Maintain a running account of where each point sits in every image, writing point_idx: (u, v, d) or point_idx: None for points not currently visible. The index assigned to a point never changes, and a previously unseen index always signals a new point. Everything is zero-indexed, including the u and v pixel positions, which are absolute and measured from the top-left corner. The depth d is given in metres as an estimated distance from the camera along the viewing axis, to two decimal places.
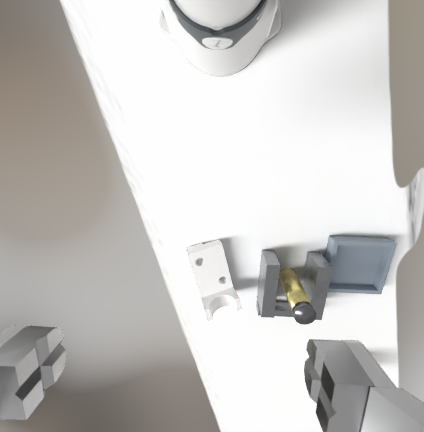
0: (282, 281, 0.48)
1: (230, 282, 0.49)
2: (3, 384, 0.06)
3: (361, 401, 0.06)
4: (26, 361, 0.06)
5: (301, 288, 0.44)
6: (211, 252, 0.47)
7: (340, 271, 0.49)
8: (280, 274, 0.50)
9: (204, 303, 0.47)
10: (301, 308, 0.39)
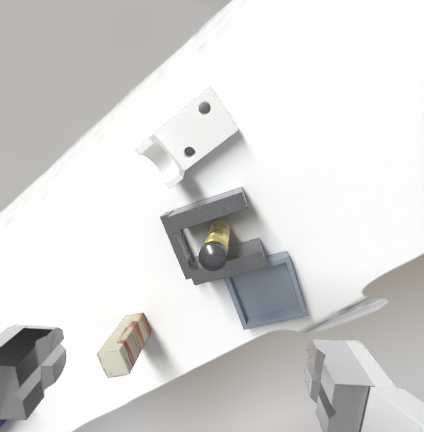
0: (217, 224, 0.38)
1: (189, 164, 0.37)
2: (3, 384, 0.06)
3: (361, 400, 0.06)
4: (27, 360, 0.06)
5: (228, 244, 0.35)
6: (223, 119, 0.34)
7: (250, 280, 0.42)
8: (220, 220, 0.40)
9: (153, 137, 0.33)
10: (220, 248, 0.29)
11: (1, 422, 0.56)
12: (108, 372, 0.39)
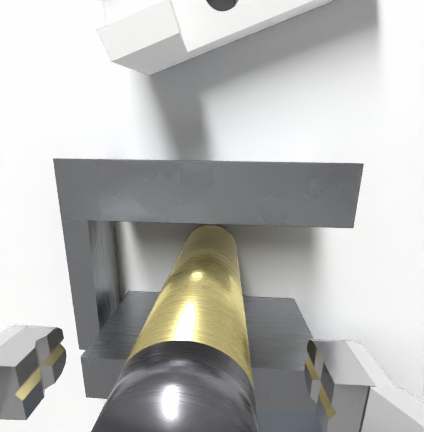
0: (215, 239, 0.13)
1: (210, 33, 0.11)
2: (3, 384, 0.06)
3: (361, 401, 0.06)
4: (26, 361, 0.06)
5: None
6: None
7: None
8: (220, 228, 0.15)
9: None
10: None
11: None
12: None
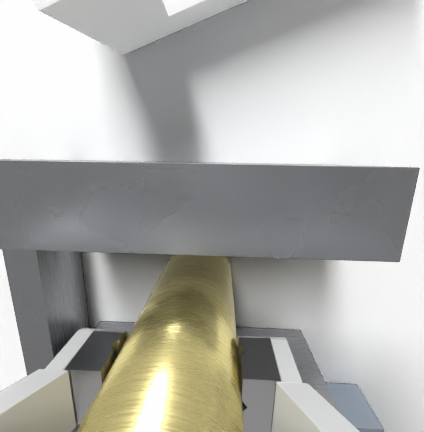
0: (202, 264, 0.10)
1: None
2: (87, 389, 0.06)
3: (269, 395, 0.06)
4: (107, 365, 0.06)
5: None
6: None
7: None
8: None
9: None
10: None
11: None
12: None
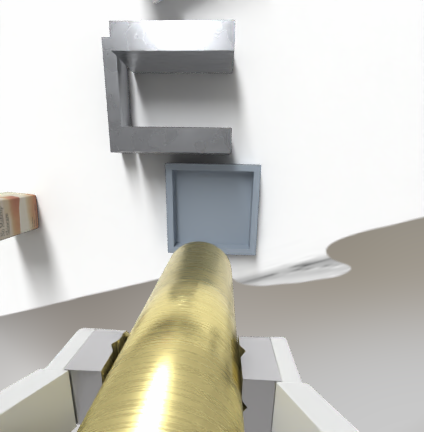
0: (202, 264, 0.10)
1: None
2: (87, 389, 0.06)
3: (269, 395, 0.06)
4: (107, 365, 0.06)
5: None
6: None
7: (198, 189, 0.31)
8: (210, 247, 0.12)
9: None
10: None
11: None
12: None
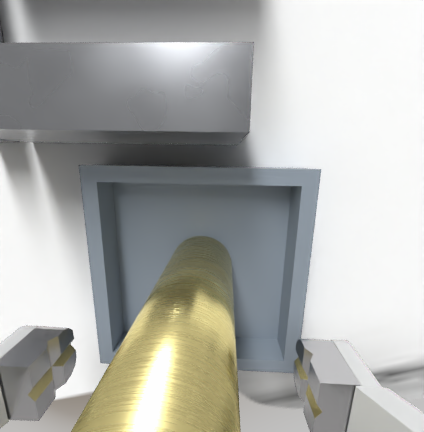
0: (204, 256, 0.11)
1: None
2: (16, 385, 0.06)
3: (346, 400, 0.06)
4: (39, 361, 0.06)
5: None
6: None
7: (168, 225, 0.14)
8: (212, 241, 0.13)
9: None
10: None
11: None
12: None
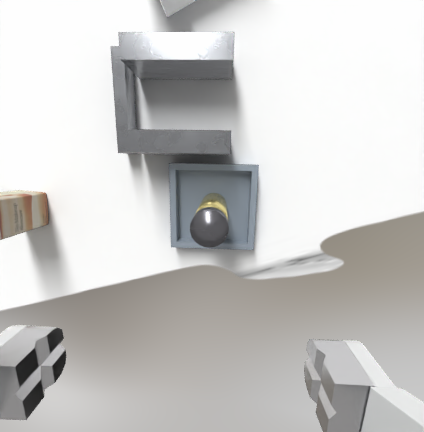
0: (216, 196, 0.30)
1: None
2: (3, 384, 0.06)
3: (361, 400, 0.06)
4: (26, 361, 0.06)
5: None
6: None
7: (200, 188, 0.33)
8: (218, 194, 0.32)
9: None
10: (225, 220, 0.21)
11: None
12: None
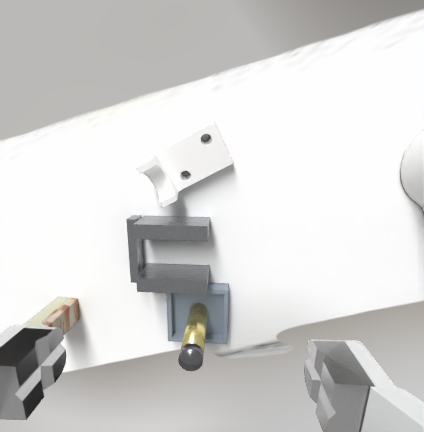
0: (199, 312, 0.43)
1: (184, 186, 0.39)
2: (3, 384, 0.06)
3: (361, 401, 0.06)
4: (26, 360, 0.06)
5: None
6: (221, 152, 0.37)
7: (188, 299, 0.46)
8: (201, 305, 0.46)
9: (154, 158, 0.35)
10: (200, 356, 0.35)
11: None
12: None
